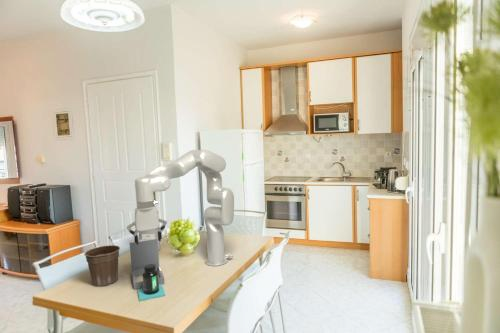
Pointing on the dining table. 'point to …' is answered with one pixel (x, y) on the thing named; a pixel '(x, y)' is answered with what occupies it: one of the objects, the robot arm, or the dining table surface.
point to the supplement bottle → (150, 279)
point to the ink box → (147, 237)
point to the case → (144, 259)
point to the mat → (145, 297)
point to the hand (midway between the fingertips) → (148, 242)
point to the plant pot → (103, 264)
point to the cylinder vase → (150, 233)
